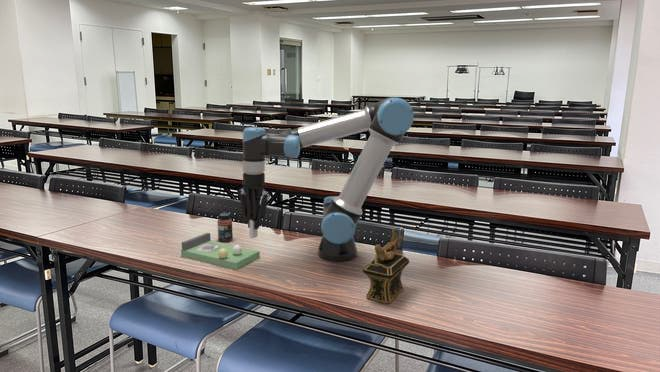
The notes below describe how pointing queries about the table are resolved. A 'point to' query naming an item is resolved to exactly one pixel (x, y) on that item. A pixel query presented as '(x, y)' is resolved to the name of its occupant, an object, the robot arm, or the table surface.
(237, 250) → the ball
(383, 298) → the decorative box
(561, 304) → the table surface
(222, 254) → the yellow ball
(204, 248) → the green
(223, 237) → the supplement bottle
